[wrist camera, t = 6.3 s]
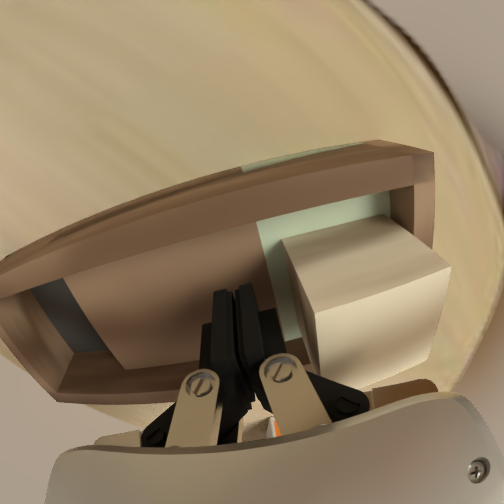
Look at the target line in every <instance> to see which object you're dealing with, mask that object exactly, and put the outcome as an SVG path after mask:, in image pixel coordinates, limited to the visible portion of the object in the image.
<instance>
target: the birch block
mask: <svg viewBox="0 0 504 504" xmlns="http://www.w3.org/2000/svg"><path fill="white" fill-rule="evenodd" d="M282 244H283V249H284V254H285V259H286V264H287V269H288V275H289V280H290V285H291V290H292V296H293V301H294V307H295V312H296V318H297V323H298V326H299V329H300V332H301V335H302V338H303V341H304V344H305V347H306V350H307V353H308V356H309V359H310V362H311V365H312V368H313V372H314V374H316V375H319V376H321V377H324V378H327V379H329V380H332V381H335V382H338V383H340V384H343V385H346V386H349V387H352V388H354V389H359V388H362V387H365V386H368V385H370V384H373V383H375V382H378V381H380V380H383V379H385V378H388V377H390V376H393V375H395V374H397V373H400V372H402V371H404V370H406V369H409V368H411V367H413V366H415V365H417V364H419V363H421V362H423V361H425V360H427V357H428V355H429V352H430V349H431V346H432V343H433V340H434V337H435V333H436V330H437V327H438V323H439V320H440V316H441V312H442V309H443V305H444V301H445V296H446V292H447V288H448V283H449V278H450V273H451V267H452V266H451V265H450V264H449V263H448V262H447V261H445V260H444V259H443V258H442V257H440V256H439V255H438V254H437V253H436V252H434V251H433V250H432V249H430V248H429V247H428V246H427V245H425V244H424V243H423V242H421V241H420V240H419V239H418V238H416V237H415V236H414V235H412V234H411V233H410V232H408V231H407V230H405V229H404V228H403V227H401V226H400V225H399V224H397V223H396V222H394V221H393V220H392V219H390V218H389V217H387V216H386V215H384V214H380V215H376V216H372V217H367V218H363V219H359V220H355V221H351V222H347V223H343V224H339V225H335V226H331V227H327V228H323V229H319V230H315V231H311V232H307V233H303V234H299V235H295V236H291V237H287V238H283V239H282Z"/></svg>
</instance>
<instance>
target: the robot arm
mask: <svg viewBox="0 0 504 504" xmlns="http://www.w3.org/2000/svg"><path fill="white" fill-rule="evenodd" d="M254 391H255V392H254ZM255 393H256V396H257V398H258V400H259V401H260V402H261V404H262V406H263V408H264V409H265V410H267V411H269V412H270V413H272V414H273V415H274V417H275V420H276V423H277V425H278V428H279V431H280V433H281V436H277V437H272V438H267V439H261V440H255V441H248V442H242V434H243V416H244V415H245V414H246V413H247V412H248V410H250V409H252V406H251V402H254V401H255ZM45 504H504V456H503V454H502V452H501V450H500V447H499V445H498V443H497V441H496V439H495V437H494V435H493V434H492V431H491V430H490V428H489V426H488V425H487V423H486V421H485V420H484V418H483V417H482V415H481V414H480V412H479V411H478V410H477V408H476V407H475V406H474V405H473V404H472V402H470V401H469V400H468V399H467V398H466V397H464V396H463V395H461V394H458V393H454V392H438V389H437V387H436V385H435V384H434V383H433V382H432V381H431V380H427V379H417V380H413V381H409V382H404V383H399V384H395V385H389V386H384V387H378V388H372V391H368V392H361V391H359V390H357V389H354V388H352V387H349V386H346V385H343V384H340V383H338V382H335V381H332V380H329V379H327V378H324V377H321V376H319V375H316V374H314V373H311V372H309V371H306V370H304V368H303V366H302V364H301V362H300V361H299V359H298V358H297V357H295V356H294V355H291V354H287V351H286V347H285V343H284V339H283V335H282V331H281V327H280V323H279V319H278V316H277V312H276V308H271V309H267V310H263V311H259V307H258V304H257V300H256V297H255V293H254V290H253V286H252V283H247V284H243V285H239V289H236V290H235V298H234V296H233V293H232V291H227V289H222V290H218V291H214V292H213V307H212V322H210V323H206V324H203V325H202V332H201V345H200V359H199V370H196V371H194V372H192V373H190V374H189V375H187V377H186V378H185V379H184V380H183V382H182V385H181V388H180V392H179V396H178V399H177V401H176V402H175V403H174V404H173V405H172V406H170V407H169V408H168V409H167V410H166V411H165V412H164V413H162V414H161V415H160V416H159V417H158V418H157V419H155V420H154V421H153V422H152V423H151V424H150V425H148V426H147V427H146V428H145V429H144V431H142V432H141V431H140V430H136V431H131V432H126V433H120V434H115V435H109V436H103V437H100V438H99V439H97V440H96V441H95V443H94V445H87V446H81V447H76V448H73V449H70V450H68V451H65V452H64V453H62V454H61V455H60V456H59V457H58V458H57V460H56V462H55V464H54V466H53V469H52V472H51V475H50V479H49V483H48V488H47V493H46V498H45Z"/></svg>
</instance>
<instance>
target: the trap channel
mask: <svg viewBox="0 0 504 504" xmlns="http://www.w3.org/2000/svg"><path fill="white" fill-rule="evenodd" d="M380 214H384V215H386V216H387V217H389V218H390V219H392V220H393V221H394V222H396V223H397V224H399V225H400V226H401V227H403V228H404V229H405V230H407V231H408V232H410V233H411V234H412V235H414V236H415V237H416V238H418V239H419V240H420V241H421V242H423V243H424V244H425V245H427V246H428V247H429V248H430V249H432V245H433V232H434V214H435V169H434V152H431V151H427V150H423V149H419V148H415V147H411V146H406V145H402V144H398V143H393V142H388V141H383V140H374V141H367V142H359V143H353V144H346V145H340V146H334V147H328V148H323V149H317V150H312V151H307V152H302V153H297V154H292V155H287V156H283V157H278V158H274V159H270V160H265V161H261V162H257V163H253V164H249V165H245V166H241V167H237V168H233V169H229V170H226V171H222V172H218V173H215V174H211V175H208V176H204V177H201V178H198V179H194V180H191V181H188V182H184V183H181V184H178V185H175V186H172V187H169V188H166V189H163V190H160V191H157V192H154V193H151V194H148V195H145V196H142V197H140V198H137V199H134V200H131V201H129V202H126V203H123V204H121V205H118V206H115V207H113V208H110V209H108V210H105V211H102V212H100V213H98V214H95V215H93V216H90V217H88V218H85V219H83V220H81V221H78V222H76V223H74V224H71V225H69V226H67V227H65V228H62V229H60V230H58V231H56V232H54V233H52V234H49V235H47V236H45V237H43V238H41V239H39V240H37V241H35V242H33V243H31V244H29V245H27V246H25V247H23V248H21V249H19V250H17V251H15V252H13V253H12V254H10V255H8V256H6V257H5V258H4V259H3V260H2V261H0V337H1V339H2V340H3V341H4V343H5V344H6V345H7V347H8V348H9V349H10V351H11V352H12V353H13V354H14V356H15V357H16V358H17V359H18V361H19V362H20V363H21V364H22V365H23V366H24V368H25V369H26V370H27V371H28V372H29V373H30V374H31V376H32V377H33V378H34V379H35V380H36V381H37V382H38V383H39V384H40V385H41V386H42V387H43V388H44V389H45V390H46V391H47V392H48V393H49V394H50V395H51V396H52V397H53V398H54V399H55V400H56V401H57V402H64V403H78V404H108V405H120V404H151V403H166V402H176V401H177V399H178V396H179V392H180V388H181V385H182V382H183V380H184V379H185V378H186V377H187V375H189V374H190V373H192V372H194V371H196V370H199V359H200V345H201V332H202V325H203V324H206V323H210V322H212V307H213V292H214V291H218V290H222V289H227V291H232V293H233V296H234V298H235V290H236V289H239V285H243V284H247V283H252V286H253V290H254V293H255V297H256V300H257V304H258V307H259V311H263V310H267V309H271V308H276V312H277V316H278V319H279V323H280V327H281V331H282V335H283V339H284V343H285V347H286V351H287V354H291V355H294V356H295V357H297V358H298V359H299V361H300V362H301V364H302V366H303V368H304V370H306V371H309V372H311V373H314V372H313V368H312V365H311V362H310V359H309V356H308V353H307V350H306V347H305V344H304V341H303V338H302V335H301V332H300V329H299V326H298V323H297V318H296V312H295V307H294V301H293V296H292V290H291V285H290V280H289V275H288V269H287V264H286V259H285V254H284V249H283V244H282V239H283V238H287V237H291V236H295V235H299V234H303V233H307V232H311V231H315V230H319V229H323V228H327V227H331V226H335V225H339V224H343V223H347V222H351V221H355V220H359V219H363V218H367V217H372V216H376V215H380Z"/></svg>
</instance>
